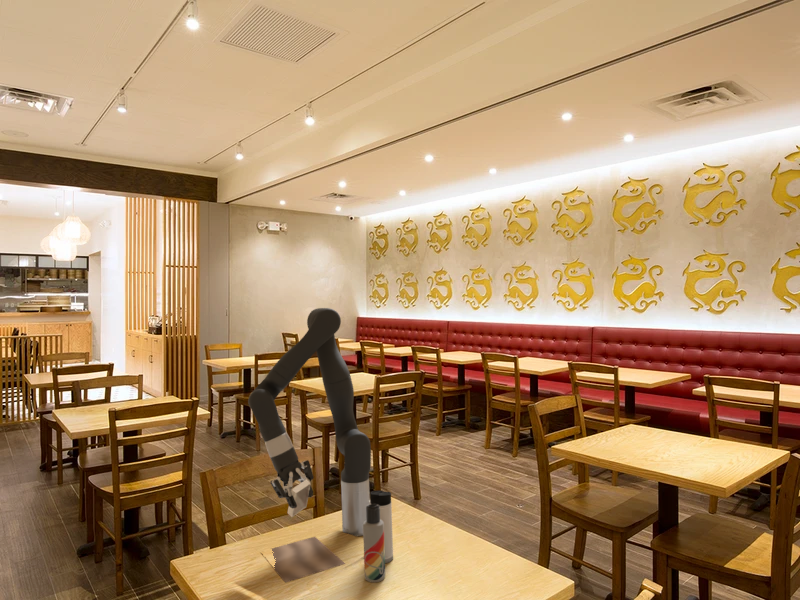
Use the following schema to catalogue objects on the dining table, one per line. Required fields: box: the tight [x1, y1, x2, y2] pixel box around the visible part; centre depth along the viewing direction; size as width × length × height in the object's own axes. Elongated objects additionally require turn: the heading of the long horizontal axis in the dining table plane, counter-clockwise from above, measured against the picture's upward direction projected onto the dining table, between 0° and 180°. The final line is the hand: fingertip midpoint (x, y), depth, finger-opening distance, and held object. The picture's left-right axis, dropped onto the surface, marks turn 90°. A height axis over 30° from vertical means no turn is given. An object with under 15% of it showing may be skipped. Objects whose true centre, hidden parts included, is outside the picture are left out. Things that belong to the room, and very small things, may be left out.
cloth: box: [271, 536, 346, 583], centre depth 159 cm, size 18×22×1 cm
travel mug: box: [369, 490, 394, 564], centre depth 158 cm, size 6×7×20 cm
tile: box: [287, 480, 311, 518], centre depth 164 cm, size 2×6×10 cm, turn 142°
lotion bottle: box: [362, 503, 386, 583], centre depth 148 cm, size 6×6×20 cm
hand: (302, 501), depth 163 cm, fingers closed on tile, 6 cm apart
